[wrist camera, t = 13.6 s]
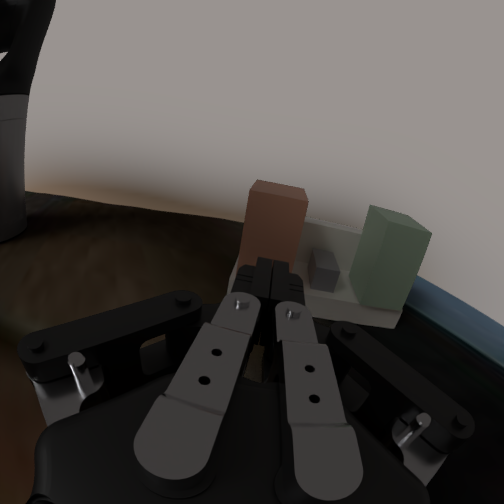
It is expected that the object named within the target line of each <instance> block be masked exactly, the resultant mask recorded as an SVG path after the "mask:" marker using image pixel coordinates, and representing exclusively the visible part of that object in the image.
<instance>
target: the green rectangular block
mask: <svg viewBox="0 0 504 504" xmlns="http://www.w3.org/2000/svg"><path fill="white" fill-rule="evenodd" d="M431 235H432V233H431V232H430V231H428V230H427V229H426V228H424V227H423V226H422V225H420V224H419V223H418V222H416V221H415V220H414V219H412V218H411V217H409V216H408V215H404V214H401V213H398V212H395V211H391V210H388V209H384V208H380V207H377V206H372V205H370V206H369V210H368V214H367V217H366V221H365V224H364V228H363V231H362V234H361V238H360V241H359V244H358V248H357V251H356V254H355V257H354V260H353V263H352V266H351V269H350V272H349V275H348V276H349V278H350V281H351V283H352V286H353V288H354V291H355V293H356V296H357V299H358V301H359V304H361V305H367V306H373V307H379V308H386V309H392V310H399V311H401V310H402V307H403V305H404V303H405V301H406V299H407V297H408V294H409V292H410V290H411V287H412V285H413V283H414V280H415V278H416V276H417V273H418V271H419V268H420V266H421V263H422V260H423V258H424V255H425V252H426V250H427V247H428V244H429V241H430V238H431Z"/></svg>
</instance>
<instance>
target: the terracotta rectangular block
mask: <svg viewBox="0 0 504 504" xmlns="http://www.w3.org/2000/svg"><path fill="white" fill-rule="evenodd" d="M308 202H309V201H308V198H307V196H306V193H305V191H304V189H302V188H298V187H293V186H288V185H283V184H277V183H273V182H267V181H262V180H256V182H255V183H254V184H253V186H252V188H251V189H250V191H249V197H248V203H247V209H246V215H245V221H244V227H243V233H242V239H241V246H240V252H239V258H238V265H237V271H236V275H237V272H238V269H239V268H240V267H242V266H243V265H245V264H246V265H251V266H256V262H257V258H258V257H263V258H268V259H273V261H274V260H279V261H284V262H289V273H292V269H293V265H294V261H295V257H296V253H297V249H298V245H299V241H300V237H301V233H302V228H303V224H304V220H305V216H306V211H307V207H308ZM272 266H273V262H272ZM235 278H236V277H235Z"/></svg>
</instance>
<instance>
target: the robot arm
mask: <svg viewBox="0 0 504 504" xmlns="http://www.w3.org/2000/svg"><path fill="white" fill-rule="evenodd" d="M55 3H56V0H0V53H3V52H8V53H7V54H6V55H5V57H4V58H3V59H2V60H1V61H0V242H2V241H5V240H8V239H10V238H12V237H14V236H16V235H18V234H20V233H21V232H22V231H24V230H25V228H26V227H27V217H26V205H25V184H24V150H25V148H24V147H25V131H26V118H27V109H28V102H29V94H30V88H31V84H32V80H33V77H34V73H35V69H36V65H37V61H38V57H39V53H40V50H41V47H42V44H43V41H44V38H45V35H46V32H47V30H48V27H49V24H50V21H51V18H52V15H53V11H54V8H55ZM272 262H273V266H272ZM260 333H261V336H260ZM163 334H165V340H162V341H159V342H157V343H154V344H152V345H149V346H146V347H144V348H141V349H140V347H141V345H142V344H143V343H144V342H145V341H147V340H149V339H152V338H155V337H157V336H160V335H163ZM259 337H260V344H259V345H261V346H265V350H264V354H263V358H262V383H258V382H255V381H252V380H249V379H247V378H244V377H243V376H244V373H245V370H246V366H247V363H248V360H249V356H250V353H251V352H252V350H253V345H254V344H255V345H258V341H259ZM17 352H18V355H19V357H20V359H21V361H22V363H23V365H24V367H25V369H26V373H27V376H28V377H29V379H30V381H31V383H32V385H33V387H34V388H35V390H36V393H37V396H38V400H39V403H40V406H41V409H42V412H43V415H44V417H45V420H46V423H47V425H48V427H47V428H46V429H45V430H44V431H43V432H42V433H41V435H40V437H39V439H38V441H37V443H36V447H35V453H34V460H35V477H34V485H33V490H32V494H31V496H30V498H29V500H28V501H27V503H26V504H430V498H429V494H428V491H427V489H426V485H427V484H428V483H429V481H430V480H431V479H432V477H433V476H434V475H435V473H436V472H437V470H438V469H439V468H440V466H441V465H442V463H443V462H444V460H445V459H446V458H447V457H448V456H449V455H450V454H451V453H453V452H454V451H455V450H456V449H457V448H458V447H459V446H461V445H462V444H463V443H464V442H465V441H466V440H467V439H468V438H469V437H470V436H471V435H472V434H473V433H474V430H475V423H474V420H473V418H472V416H471V415H470V413H469V412H468V411H466V410H465V409H464V408H463V407H461V406H460V405H459V404H458V403H456V402H455V401H454V400H453V399H451V398H450V397H449V396H447V395H446V394H445V393H444V392H442V391H441V390H440V389H439V388H437V387H436V386H435V385H433V384H432V383H431V382H430V381H428V380H427V379H426V378H425V377H423V376H422V375H421V374H419V373H418V372H417V371H416V370H414V369H413V368H412V367H411V366H409V365H408V364H407V363H405V362H404V361H403V360H402V359H400V358H399V357H398V356H396V355H395V354H394V353H393V352H391V351H390V350H389V349H387V348H386V347H385V346H384V345H382V344H381V343H380V342H378V341H377V340H376V339H375V338H373V337H372V336H371V335H369V334H368V333H367V332H366V331H364V330H363V329H362V328H360V327H359V326H358V325H356V324H354V323H352V322H348V321H336V322H334V323H333V324H332V325H331V328H329V327H326V326H323V325H321V324H318V323H316V322H315V321H313V319H312V315H311V312H310V310H309V309H308V308H307V307H306V306H305V296H304V288H303V280H302V279H301V278H300V276H299V275H298V274H293V273H289V262H284V261H279V260H274V261H273V259H268V258H263V257H258V258H257V262H256V266H251V265H246V264H245V265H243V266H242V267H240V268H239V269H238V272H237V275H236V278H235V281H234V284H233V286H232V289H231V292H230V293H229V294H227V295H226V296H225V297H224V299H223V301H222V302H221V303H218V304H202V299H201V298H200V297H199V296H198V295H197V294H195V293H193V292H190V291H185V290H178V291H173V292H170V293H166V294H163V295H160V296H156V297H153V298H150V299H146V300H143V301H140V302H136V303H133V304H130V305H126V306H123V307H120V308H116V309H113V310H109V311H106V312H103V313H99V314H96V315H92V316H89V317H85V318H82V319H78V320H75V321H71V322H68V323H64V324H61V325H57V326H54V327H50V328H47V329H43V330H39V331H36V332H32V333H30V334H28V335H26V336H24V337H23V338H22V339H21V341H20V342H19V344H18V347H17ZM351 366H352V367H353V368H354V369H355V370H357V371H358V372H359V373H360V374H361V375H362V376H364V377H365V378H366V379H367V380H368V381H369V382H370V384H371V392H370V394H369V393H368V392H367V391H366V390H364V389H363V388H362V387H361V386H360V385H359V384H358V383H357V382H356V381H354V380H353V379H352V378H351V377H350V376H349V375H348V374H347V373H348V372H349V370H350V368H351Z"/></svg>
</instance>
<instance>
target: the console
mask: <svg viewBox="0 0 504 504" xmlns="http://www.w3.org/2000/svg"><path fill="white" fill-rule="evenodd" d="M362 231H363V229H359V228H355V227H351V226H347V225H342V224H338V223H333V222H329V221H324V220H320V219H315V218H311V217H306V216H305V220H304V224H303V228H302V233H301V237H300V241H299V245H298V249H297V253H296V257H295V261H294V265H293V269H292V273H293V274H298V275H299V276H300V278H301V279H302V280H303V288H304V296H305V306H306V307H307V308H308V309H309V310H310V312H311V315H312V317H316V318H322V319H329V320H335V321H348V322H352V323H355V324H362V325H369V326H376V327H384V328H392V329H394V328H395V326H396V324H397V322H398V320H399V318H400V316H401V314H402V312H403V310H401V311H399V310H392V309H386V308H379V307H373V306H367V305H361V304H359V301H358V299H357V296H356V293H355V291H354V288H353V286H352V283H351V281H350V278H349V276H348V275H349V272H350V269H351V266H352V263H353V260H354V257H355V254H356V251H357V248H358V244H359V241H360V238H361V234H362ZM238 258H239V256H238ZM237 265H238V259H237V261H236V264H235V266H234V269H233V271H232V274H231V276H230V279H229V284H228V291H227V294H229V293H230V292H231V289H232V286H233V284H234V281H235V277H236V271H237Z"/></svg>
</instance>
